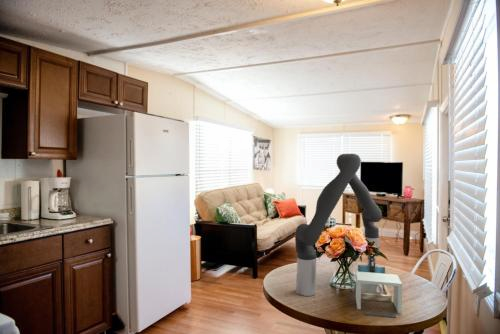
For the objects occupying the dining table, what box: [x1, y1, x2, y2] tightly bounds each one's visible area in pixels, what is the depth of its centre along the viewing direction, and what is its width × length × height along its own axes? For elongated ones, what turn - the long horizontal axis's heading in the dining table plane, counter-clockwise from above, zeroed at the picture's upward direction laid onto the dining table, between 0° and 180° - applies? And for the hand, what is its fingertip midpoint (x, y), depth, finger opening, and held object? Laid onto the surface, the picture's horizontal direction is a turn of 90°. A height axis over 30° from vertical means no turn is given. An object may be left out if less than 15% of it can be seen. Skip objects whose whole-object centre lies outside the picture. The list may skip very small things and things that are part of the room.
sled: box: [357, 264, 393, 303], centre depth 169 cm, size 13×24×9 cm, turn 166°
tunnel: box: [355, 270, 403, 315], centre depth 152 cm, size 18×12×13 cm, turn 76°
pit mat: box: [364, 310, 397, 319], centre depth 142 cm, size 12×2×1 cm, turn 76°
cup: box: [361, 283, 384, 294], centre depth 162 cm, size 11×8×8 cm
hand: (371, 277), depth 180 cm, fingers open, 4 cm apart
